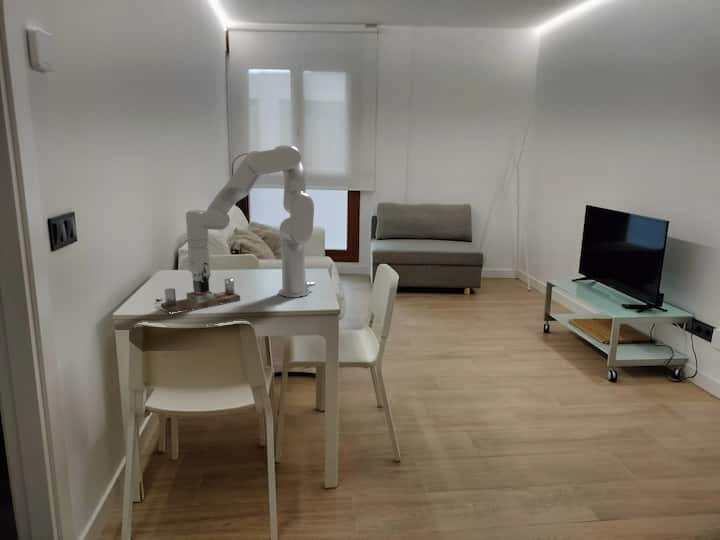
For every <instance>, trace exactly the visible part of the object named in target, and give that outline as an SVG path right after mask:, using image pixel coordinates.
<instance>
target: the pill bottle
mask: <svg viewBox="0 0 720 540" xmlns="http://www.w3.org/2000/svg"><path fill="white" fill-rule="evenodd" d="M203 273H205V272H202V274H203ZM204 276H205V275H203V277H204ZM200 282H201V279H200V275H197V274H195V277H194V278H192V283H193V284H194V288H193V292H194V295H195V296H202V295H208V294H209V292H208V291H207V292H201V289H200ZM193 284H192V285H193Z"/></svg>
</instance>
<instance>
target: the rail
mask: <svg viewBox="0 0 720 540" xmlns="http://www.w3.org/2000/svg"><path fill="white" fill-rule="evenodd" d="M208 292H209V294H208V295H202V296H195V295H194V291H189V292H186V298H184V299H179V300H176V306H173V307H167V306H166V302H163V303H160V308H161V307H162V308H163V309H165V310H167V311H168V312H171V313H172V312H178V311H185V310H191V311H193V310H192V309H195V310H199V309H198V308H200V309H204V308H203V307H205V308H209V307H208V306H210V307H214V306H213V305H215V306H217V305H216V304H220V303H225V304H227V303H226V302H230V303H232V302H231V301H235V302H237V301H236V300H240V301H241V295H240V294H238V293H236V292H234V295H225V291H222V292H213V291H211V290H209V291H208ZM220 305H221V304H220ZM163 309H162V310H163ZM168 312H167V313H168Z"/></svg>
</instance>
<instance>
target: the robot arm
mask: <svg viewBox="0 0 720 540" xmlns="http://www.w3.org/2000/svg"><path fill="white" fill-rule="evenodd" d="M301 160H302V155H301V152H300V150H299V149H298V148H297V147H295V146H293V145H286V144H285V145H278V146H275V147H274V149H268V150H267V149H266V150H260V151H259V150H253V151H250V152H248V153H247V154H246V155H245V157H244V158H243V160H242V161H241V163H240V164H239V165H238V167H237V169H236V170H235V172H234V173H233V174H232V176H231V177H230V179H229V181H228V182H227V183H225V185H224V186H223V188H221V189H220V191H219V192H218V193H217V195H216V196H215V197H214V199H213V200H212V201H211V202H210V204H209V206H208V207H207V209H206V211H205V210H203V209H191V210H188V211H187V212H186V213H185V218H186V219H185V220H186V232H187V233H186V236H187V249H188V250H187V268H188V271H189V272H190V273H191V277H192V279H193V278H194V277H195V274H197V275H200V279H201V282H200V289H201V292H207V291H210V283H209V282H210V277H211V260H210V252H209V247H210V245H209V244H210V243H209V241H210V240H209V230H213V231H214V230H215V231H216V230H217V231H222V230H224V229H226V228H227V227H228V226H229V224H230V221H231V219H230V216H229V214H228V213H229V212H230V211H231V210H232V207H234V205H235V204H236V203H238V202H239V201H240V200H242V199H244V198H246V197H247V196H248V195H249V194H250V192H251V190H252V189H253V188H254V187H255V185H256V183H257V181H258V180H259V179H260V177H261V175H262V176H263V175H269V174H274V173H279V172H282V173H283V177H284V178H283V179H284V187H283V188H284V190H283V201H282V203H283V208H284V210H285V212H287V213H288V214H289V217H286V218H285V219H283V220H282V222H281V223H280V225H279V238H280V246H281V247H280V248H281V249H280V250H281V283H282V286H281V287H282V288H280V289H279V290H278V295H279V296H281V295H282V296H281V297H284V296H286V297H285V298H301V297H300V296H302V297H305V295H306V296H308V295H309V294H310V289H309V288H311V287H315V286H316V283H315V281H310V282H309V281H306V246H305V244H307V243H308V242H310V241H311V239H312V236H313V230H314V229H313V228H314V217H315V203H314V200H313V198H312V197H311V196H310V195H309V194H308V193H307V192H306V191H307V188H306V187H307V178H306V176H307V175H306V170H305V168H304V165H303V163H302V161H301ZM202 272H205V273H203V274H202ZM203 275H205V276H204V277H203ZM192 286H193V287H192V288H193V289H194V284H192Z"/></svg>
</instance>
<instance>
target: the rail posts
mask: <svg viewBox="0 0 720 540" xmlns="http://www.w3.org/2000/svg"><path fill="white" fill-rule="evenodd" d="M224 292H225V295H234V293H235V279H234V278H232V277H231V278H230V277H229V278H225V279H224ZM176 297H177V296H176V288H172V287H171V288H166V289H164V299H165V303H166V306H167V307H173V306H176V301H177V300H176Z"/></svg>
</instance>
